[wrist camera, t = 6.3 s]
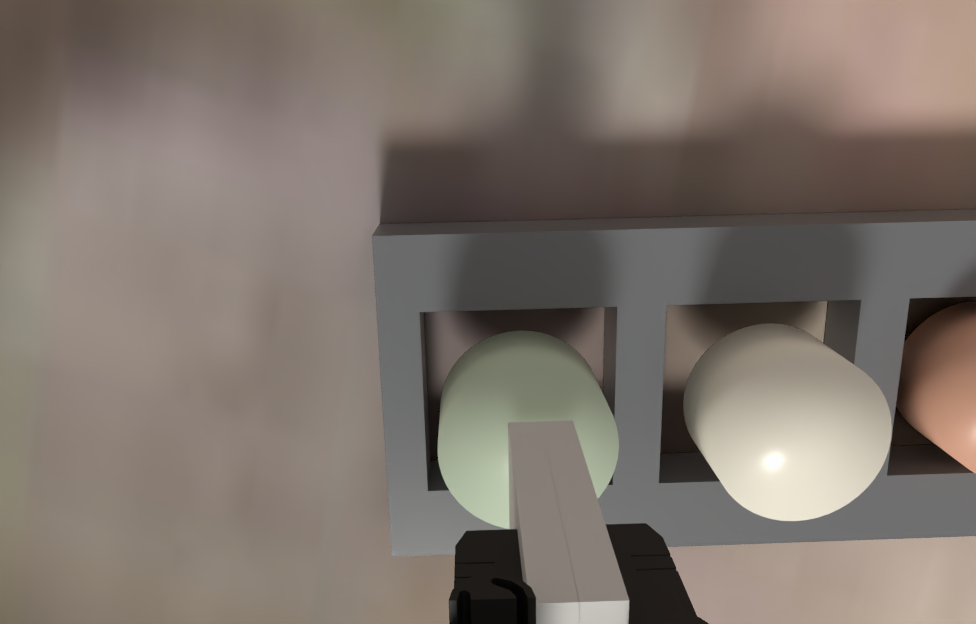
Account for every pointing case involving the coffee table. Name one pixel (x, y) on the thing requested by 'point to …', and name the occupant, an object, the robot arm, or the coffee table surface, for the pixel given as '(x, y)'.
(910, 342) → the button terracotta
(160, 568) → the coffee table surface
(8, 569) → the coffee table surface
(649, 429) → the frame
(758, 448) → the button cream
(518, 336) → the button sage
